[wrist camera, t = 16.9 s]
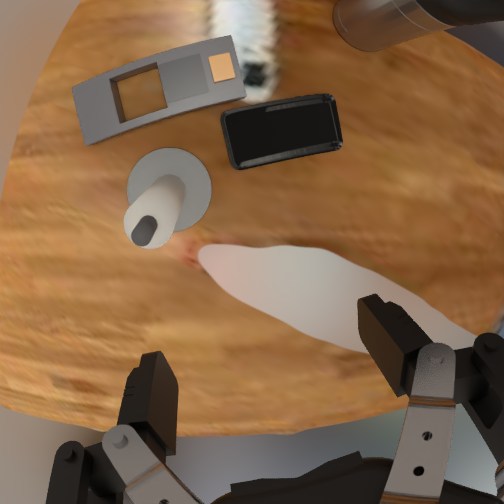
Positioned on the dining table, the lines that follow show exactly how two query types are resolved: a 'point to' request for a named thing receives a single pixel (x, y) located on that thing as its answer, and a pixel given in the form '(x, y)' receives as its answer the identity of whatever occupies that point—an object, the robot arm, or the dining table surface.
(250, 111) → the phone
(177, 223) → the pad
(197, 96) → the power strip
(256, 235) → the dining table surface
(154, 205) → the white and grey cylinder
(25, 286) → the dining table surface
